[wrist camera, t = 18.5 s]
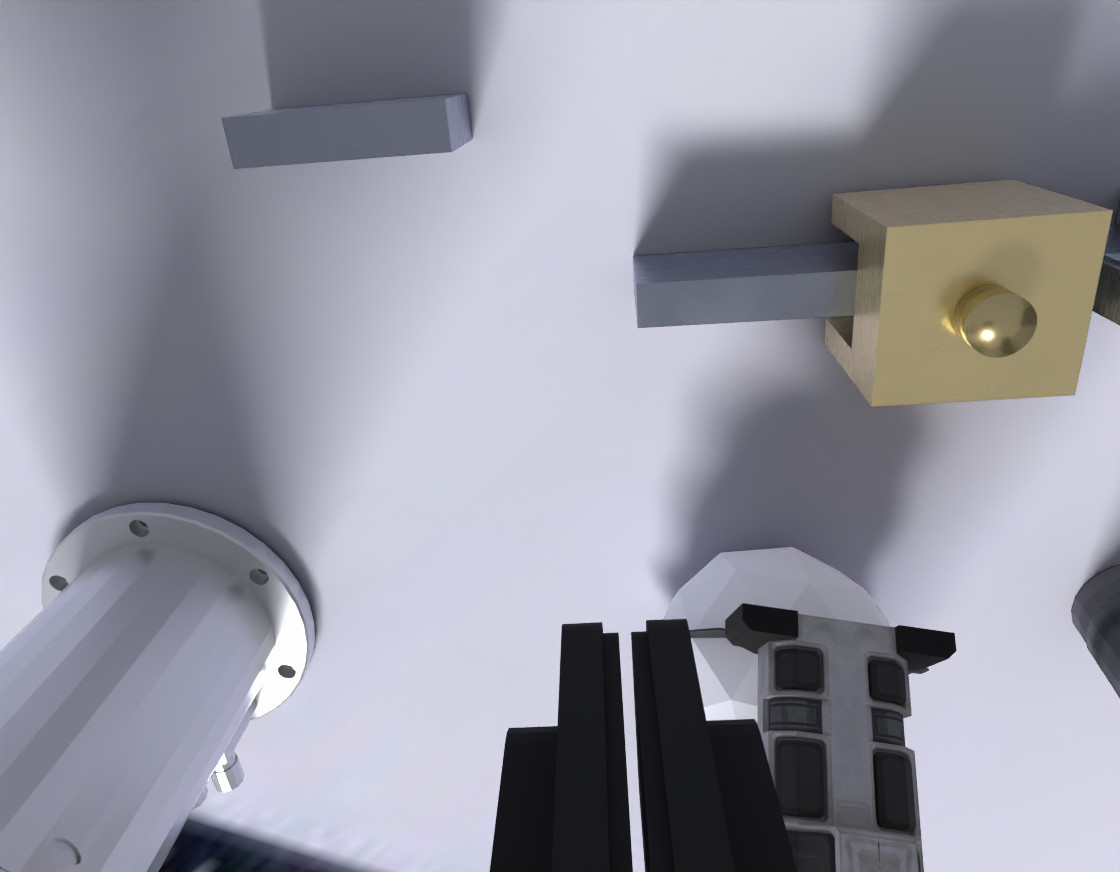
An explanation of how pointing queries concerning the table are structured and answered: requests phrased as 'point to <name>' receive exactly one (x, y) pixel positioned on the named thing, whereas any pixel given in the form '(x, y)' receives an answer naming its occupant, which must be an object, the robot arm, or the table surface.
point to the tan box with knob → (968, 291)
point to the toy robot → (816, 699)
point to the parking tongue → (349, 131)
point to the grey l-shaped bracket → (784, 284)
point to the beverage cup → (1101, 621)
